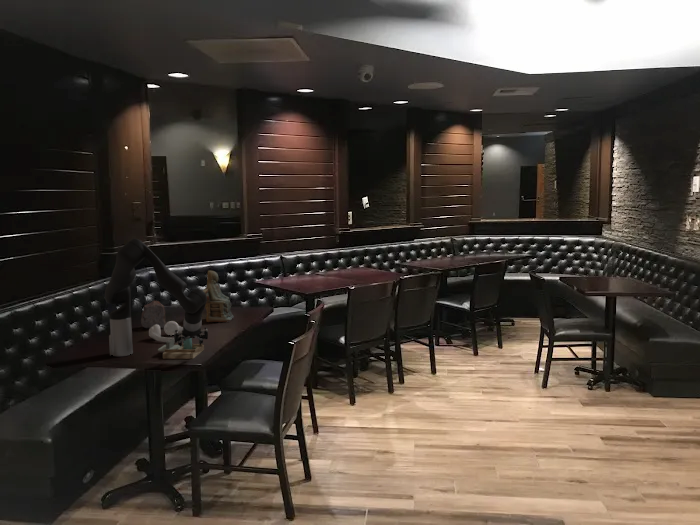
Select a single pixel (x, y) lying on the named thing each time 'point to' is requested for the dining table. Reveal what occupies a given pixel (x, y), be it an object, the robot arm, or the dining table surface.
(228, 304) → the sculpture
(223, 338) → the dining table surface
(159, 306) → the rock
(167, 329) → the headphones
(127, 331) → the robot arm
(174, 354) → the board
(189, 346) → the peg
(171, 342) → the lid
